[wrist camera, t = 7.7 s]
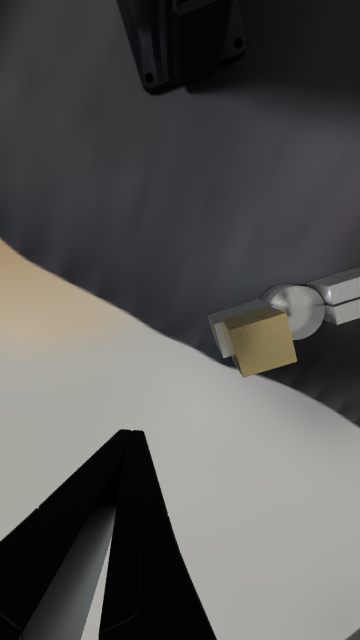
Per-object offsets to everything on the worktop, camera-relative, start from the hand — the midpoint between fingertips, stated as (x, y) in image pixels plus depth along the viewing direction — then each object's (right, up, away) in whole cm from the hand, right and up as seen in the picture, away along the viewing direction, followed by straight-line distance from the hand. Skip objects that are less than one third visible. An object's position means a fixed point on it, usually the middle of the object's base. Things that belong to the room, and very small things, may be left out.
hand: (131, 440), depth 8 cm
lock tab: (+6, +3, +6) cm, 9 cm away
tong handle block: (+8, +5, +9) cm, 13 cm away
